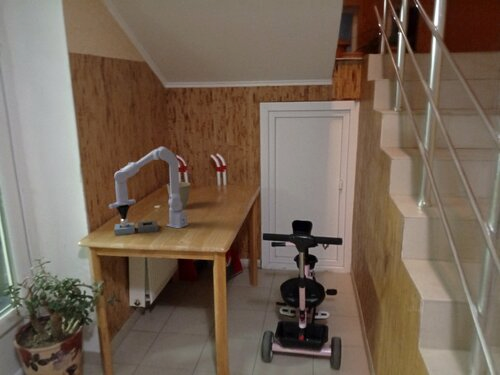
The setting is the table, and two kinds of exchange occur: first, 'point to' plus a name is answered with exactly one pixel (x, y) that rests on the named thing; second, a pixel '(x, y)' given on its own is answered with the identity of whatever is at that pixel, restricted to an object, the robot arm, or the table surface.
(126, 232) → the block
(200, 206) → the table surface
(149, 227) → the charcoal stand
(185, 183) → the plant pot
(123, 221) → the aluminium peg
